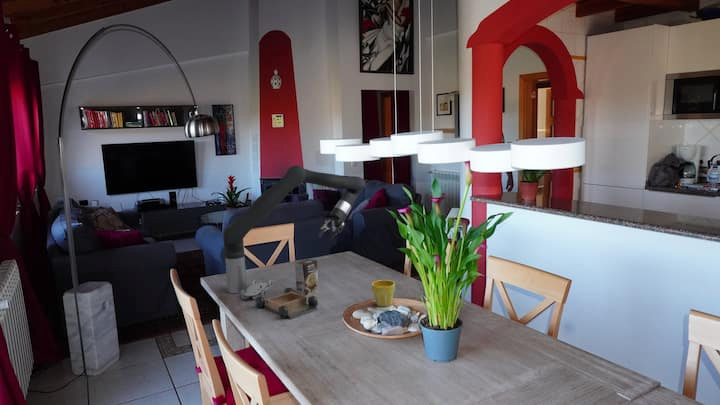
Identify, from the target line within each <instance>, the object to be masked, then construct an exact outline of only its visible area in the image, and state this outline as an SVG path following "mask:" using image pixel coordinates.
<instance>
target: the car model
mask: <svg viewBox="0 0 720 405" xmlns="http://www.w3.org/2000/svg"><path fill="white" fill-rule="evenodd" d="M273 285H274V283H273V280H272V279H269V280H268V282H267V283H266V282H262V281H259V282H257V281H256V279H252V280H251V284H249V285H248V286H247V289H246V290H244V289H243V290H241V293H240V298H241V300H244V301H246V300H253V301H256V298H257V297H259V296H262V297H263V298H265V297H266V292H267V291H268V290H269V289H270V288H272V287H273Z"/></svg>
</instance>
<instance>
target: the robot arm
mask: <svg viewBox="0 0 720 405" xmlns="http://www.w3.org/2000/svg"><path fill="white" fill-rule="evenodd" d="M301 184H311V185H312V184H313V185H318V186H320V187H326V188H329V189H333V190H334V189H335V190H343V191H344V190H345V192H344V194H342V196H341V197H340V199H339V200H338V201H337V203H336V205H334V207H333V209H332V211H331V212H330V214H329V216H330V217H329V218H326V217H325V218H324V219H323V220H322V221H321V223H320V224H319V226H318V228H319V229H320V230H319V231H318V232H317V235H316V236H317V237H318V238H322V237H323V234H325V232H326V231H327V230H332V231H331V233H330V234H329V235H328V237H327V238H328V240H330V241H333V239H334V237H336V235H338V234H341V233H342V231H343V229H344V228H345V226H346V223H345V220H346V218H347V217H348V215H349V213H350V211H351V209H352V208H353V206H354V205H355V203H356V201H357V198H358V197H359V195H360V194H361V192H362V191H363V190H364V189H365V188H366V180H365V179H364V178H362V177H360V176H355V175H354V176H353V175H352V176H351V175H348V176H347V175H346V176H345V175H340V174H334V173H326V172H319V171H313V170H311V169H306V168H305V167H303V166H301V165H298V164H295V165H291V166H290V167H289V168H287V170H286V173H285V174H284V175H283V176H282V178H281V179H280V180H278V182H276V183H275V184H274V185H272V186H271V187H269V188H267V190H265V191H264V192H263V193H261V194H260V195H259V196H258V197H257V198H256V199H255V200H254V201H253V202H252V203H251V205H250V206H249V207H248V209H247V210H246V211H245V213H244V214H243V215H242V216H241V217H240V218H239V219H238V220H237V221H236V222H235V223H230V224H227V225H226V226H225V227H224V228H223V232H222V235H223V236H222V237H223V244H224V246H223V247H224V259H225V260H224V261H225V274H226V275H225V276H226V278H225V279H226V287H227V292H228V293H229V294H239V293H240V294H241V290H243V289H244V290H246V289H247V288H248V286H247V271H246V261H245V260H246V259H245V246H244V238H245V237H246V236H247V234H248V233H249V232H250V231H251V230H252V229H253V228H254V227H255V226H256V225H258V224H259V223H260V222H261V221H262V220H264V219H265V218H266V217H267V216H268V215H269V214H271V212H272V211H274V210H275V209H276V208H277V207H278V205H279V204H280V203H281V202H282V201H283V200H284V199H285V198H286V196H287V195H288V194H290V192H291V191H293V190H294V189H295V188H297V187H298V186H299V185H301Z"/></svg>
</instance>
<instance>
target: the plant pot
mask: <svg viewBox="0 0 720 405" xmlns="http://www.w3.org/2000/svg"><path fill="white" fill-rule="evenodd" d="M395 291H396V283H395V282H394V281H393V280H390V279H380V280H375V281H373V282H372V283H371V292H372V293H373V295H374V298H375V299H374V300H375V303H376V306H377V307H379V306H380V307H381V306H388V307H390V306H392V304H393V298H394V293H395ZM381 308H382V307H381Z"/></svg>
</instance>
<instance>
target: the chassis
mask: <svg viewBox="0 0 720 405" xmlns="http://www.w3.org/2000/svg"><path fill="white" fill-rule="evenodd" d="M255 303H256V306H257V308H258V309H261V308H264V309H266V310H269V311H271V312H273V313H275V314H278V315H279V316H280V317H281V319H285V318H287V319H289V320H293V319H296V318H299V317H303V316H304V315H307V314H311V313H314V312H316V311H318V305H319V302H318V298H317V297H316V296H315V295H311V296H309V297H307V298H306V297H305V296H302V295H300V294H297V292H294V289H293V288H292V287H290V286H289V287H286V288H285V289H284V293H282V294H278V295H276V296H274V297H273V296H272V297H269V298H267V299H265V297H262V296H259V297H257V298H256V300H255Z"/></svg>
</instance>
